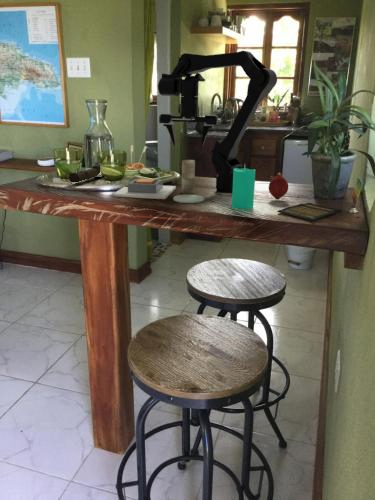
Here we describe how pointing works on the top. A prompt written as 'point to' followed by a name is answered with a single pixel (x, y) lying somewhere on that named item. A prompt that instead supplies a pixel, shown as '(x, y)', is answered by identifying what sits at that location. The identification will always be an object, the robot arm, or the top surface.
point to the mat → (188, 198)
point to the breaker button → (146, 181)
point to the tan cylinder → (188, 176)
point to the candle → (243, 188)
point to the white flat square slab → (145, 190)
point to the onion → (278, 186)
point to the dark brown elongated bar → (84, 174)
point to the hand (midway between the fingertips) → (188, 146)
